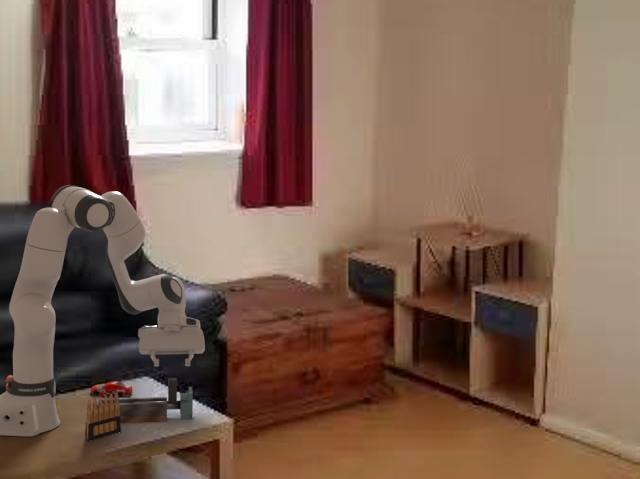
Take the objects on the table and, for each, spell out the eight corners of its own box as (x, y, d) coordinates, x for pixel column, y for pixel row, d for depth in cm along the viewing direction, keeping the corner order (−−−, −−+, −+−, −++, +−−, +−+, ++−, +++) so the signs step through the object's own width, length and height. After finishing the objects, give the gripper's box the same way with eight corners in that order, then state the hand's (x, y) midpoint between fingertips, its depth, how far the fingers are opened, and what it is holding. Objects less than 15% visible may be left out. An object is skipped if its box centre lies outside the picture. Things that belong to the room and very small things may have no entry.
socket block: (180, 419, 292) (180, 393, 291) (180, 412, 298) (180, 387, 297) (192, 418, 293) (192, 393, 291) (191, 411, 299) (191, 386, 297)
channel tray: (90, 424, 286) (90, 408, 285) (92, 413, 295) (92, 397, 294) (167, 422, 290) (167, 406, 289) (166, 411, 298) (166, 395, 297)
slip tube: (133, 412, 291) (133, 381, 289) (133, 408, 294) (133, 378, 292) (187, 410, 294) (187, 380, 292) (187, 407, 296) (187, 377, 295)
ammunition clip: (88, 441, 274) (88, 400, 271) (85, 439, 275) (84, 398, 273) (121, 432, 281) (121, 392, 279) (117, 430, 282) (117, 390, 280)
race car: (88, 396, 310) (88, 384, 309) (94, 390, 316) (93, 378, 315) (128, 398, 309) (128, 386, 308) (134, 393, 314) (133, 381, 313)
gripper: (138, 321, 303) (137, 361, 295) (204, 320, 307) (205, 360, 299) (138, 331, 308) (137, 370, 301) (203, 330, 312) (204, 369, 304)
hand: (172, 365), depth 300 cm, fingers open, 8 cm apart
